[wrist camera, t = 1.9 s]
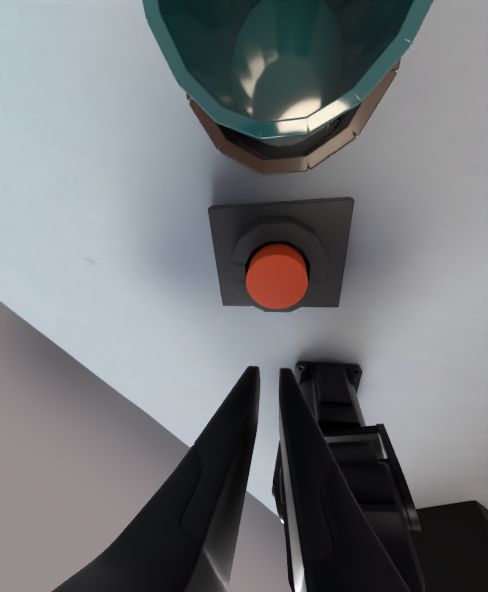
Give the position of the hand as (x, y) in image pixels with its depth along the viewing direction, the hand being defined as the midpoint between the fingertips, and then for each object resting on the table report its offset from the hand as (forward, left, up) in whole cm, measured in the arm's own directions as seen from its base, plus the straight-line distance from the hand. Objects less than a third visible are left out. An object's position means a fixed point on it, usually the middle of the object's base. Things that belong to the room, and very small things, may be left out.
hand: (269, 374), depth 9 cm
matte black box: (-57, -34, -12) cm, 68 cm away
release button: (0, 0, -9) cm, 9 cm away
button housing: (0, 0, -12) cm, 12 cm away
